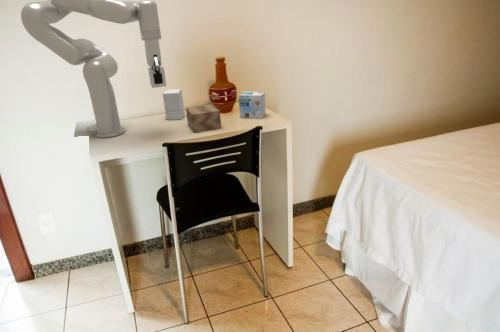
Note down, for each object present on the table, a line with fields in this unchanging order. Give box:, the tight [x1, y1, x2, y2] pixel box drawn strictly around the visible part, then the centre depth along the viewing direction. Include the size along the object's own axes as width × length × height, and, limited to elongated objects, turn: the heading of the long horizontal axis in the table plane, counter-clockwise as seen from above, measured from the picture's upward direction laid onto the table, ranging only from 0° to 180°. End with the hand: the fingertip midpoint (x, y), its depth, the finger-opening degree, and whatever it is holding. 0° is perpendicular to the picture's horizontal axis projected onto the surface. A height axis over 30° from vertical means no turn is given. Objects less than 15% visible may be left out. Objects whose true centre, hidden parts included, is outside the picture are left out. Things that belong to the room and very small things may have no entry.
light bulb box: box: [238, 91, 266, 120], centre depth 181 cm, size 11×7×11 cm, turn 73°
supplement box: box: [162, 88, 186, 121], centre depth 185 cm, size 7×7×13 cm
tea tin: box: [147, 65, 167, 89], centre depth 160 cm, size 6×6×7 cm
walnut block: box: [185, 103, 222, 134], centre depth 172 cm, size 12×12×8 cm
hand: (157, 81), depth 160 cm, fingers closed on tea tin, 5 cm apart
